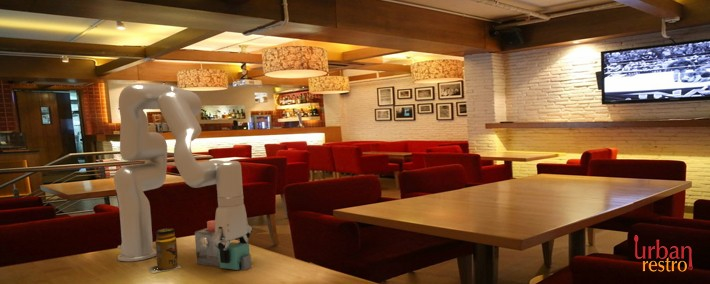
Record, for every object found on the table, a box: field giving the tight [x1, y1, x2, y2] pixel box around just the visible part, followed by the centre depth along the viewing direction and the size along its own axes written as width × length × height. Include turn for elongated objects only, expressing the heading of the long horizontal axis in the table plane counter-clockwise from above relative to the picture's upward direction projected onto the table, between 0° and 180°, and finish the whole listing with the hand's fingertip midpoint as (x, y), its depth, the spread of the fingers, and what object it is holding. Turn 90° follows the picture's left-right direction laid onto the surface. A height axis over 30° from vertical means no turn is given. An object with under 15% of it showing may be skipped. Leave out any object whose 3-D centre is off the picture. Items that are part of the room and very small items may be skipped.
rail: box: [196, 249, 252, 271], centre depth 150 cm, size 19×3×4 cm, turn 62°
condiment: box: [148, 227, 182, 274], centre depth 150 cm, size 7×8×12 cm
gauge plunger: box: [206, 219, 215, 232], centre depth 165 cm, size 3×3×5 cm
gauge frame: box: [194, 227, 231, 257], centre depth 165 cm, size 8×8×8 cm
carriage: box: [218, 241, 250, 271], centre depth 148 cm, size 7×6×6 cm
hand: (234, 258), depth 148 cm, fingers open, 7 cm apart
